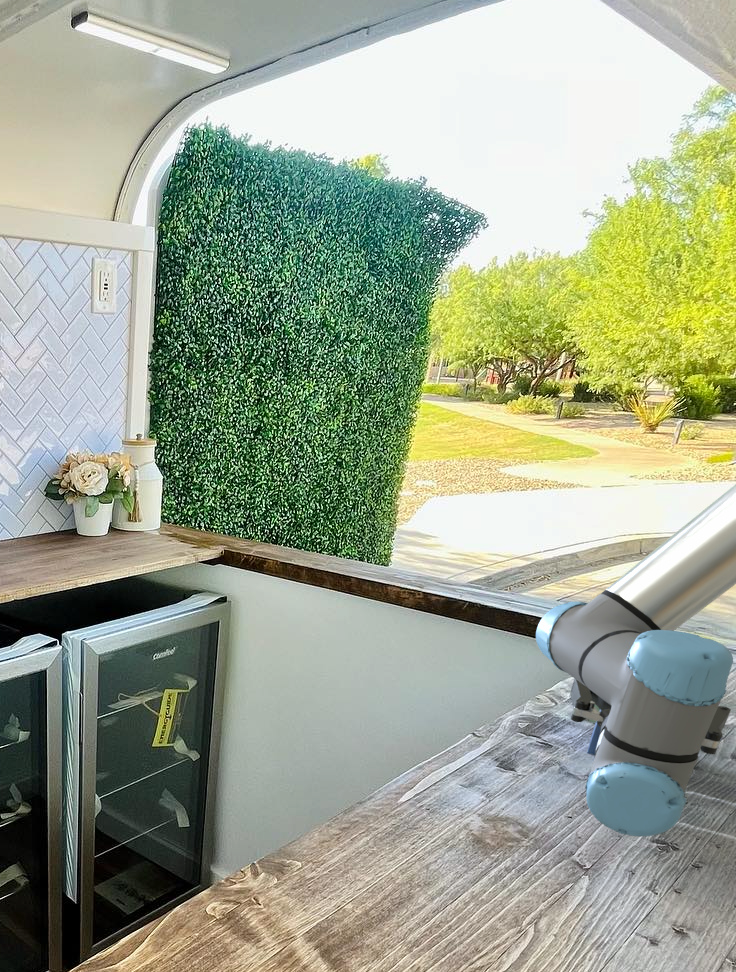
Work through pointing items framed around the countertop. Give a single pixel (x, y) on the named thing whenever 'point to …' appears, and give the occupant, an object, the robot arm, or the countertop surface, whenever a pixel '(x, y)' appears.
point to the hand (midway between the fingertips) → (648, 680)
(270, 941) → the countertop surface
